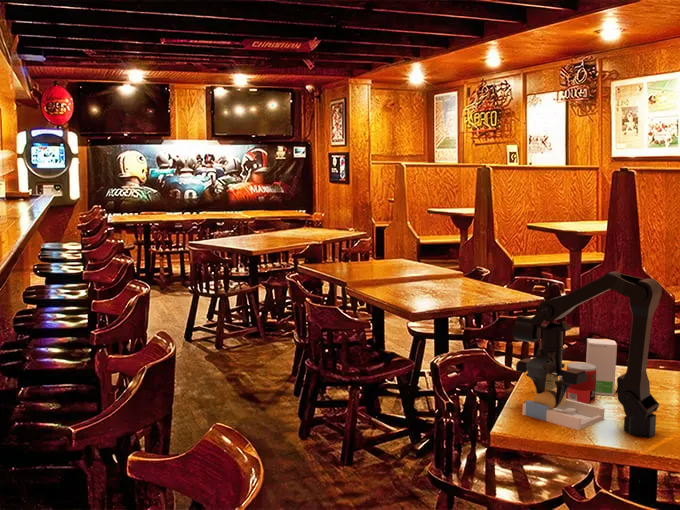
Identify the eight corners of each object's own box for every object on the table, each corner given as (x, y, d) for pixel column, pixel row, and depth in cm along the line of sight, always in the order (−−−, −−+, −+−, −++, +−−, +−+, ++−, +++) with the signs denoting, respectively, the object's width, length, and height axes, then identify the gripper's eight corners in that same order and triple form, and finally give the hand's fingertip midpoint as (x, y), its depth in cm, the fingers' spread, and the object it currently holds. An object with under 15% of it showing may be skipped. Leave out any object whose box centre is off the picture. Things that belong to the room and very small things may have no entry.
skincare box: (585, 394, 228) (587, 342, 226) (584, 387, 234) (585, 337, 232) (615, 396, 226) (617, 344, 224) (613, 389, 232) (615, 339, 230)
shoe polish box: (536, 395, 227) (537, 355, 225) (541, 391, 231) (542, 352, 229) (553, 398, 224) (554, 357, 223) (557, 393, 228) (558, 354, 227)
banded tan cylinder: (550, 403, 212) (550, 386, 211) (565, 407, 208) (566, 389, 207) (533, 409, 206) (533, 392, 206) (549, 413, 203) (549, 395, 202)
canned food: (596, 408, 215) (598, 369, 213) (566, 406, 216) (568, 368, 215) (593, 399, 222) (594, 362, 221) (564, 398, 224) (565, 361, 223)
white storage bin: (603, 423, 202) (604, 404, 202) (578, 434, 194) (579, 415, 193) (548, 408, 215) (549, 390, 214) (522, 418, 206) (522, 399, 206)
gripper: (504, 344, 207) (503, 400, 209) (565, 356, 193) (563, 416, 195) (528, 337, 214) (527, 392, 216) (589, 349, 200) (587, 407, 202)
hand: (549, 402), depth 207 cm, fingers closed on banded tan cylinder, 5 cm apart
